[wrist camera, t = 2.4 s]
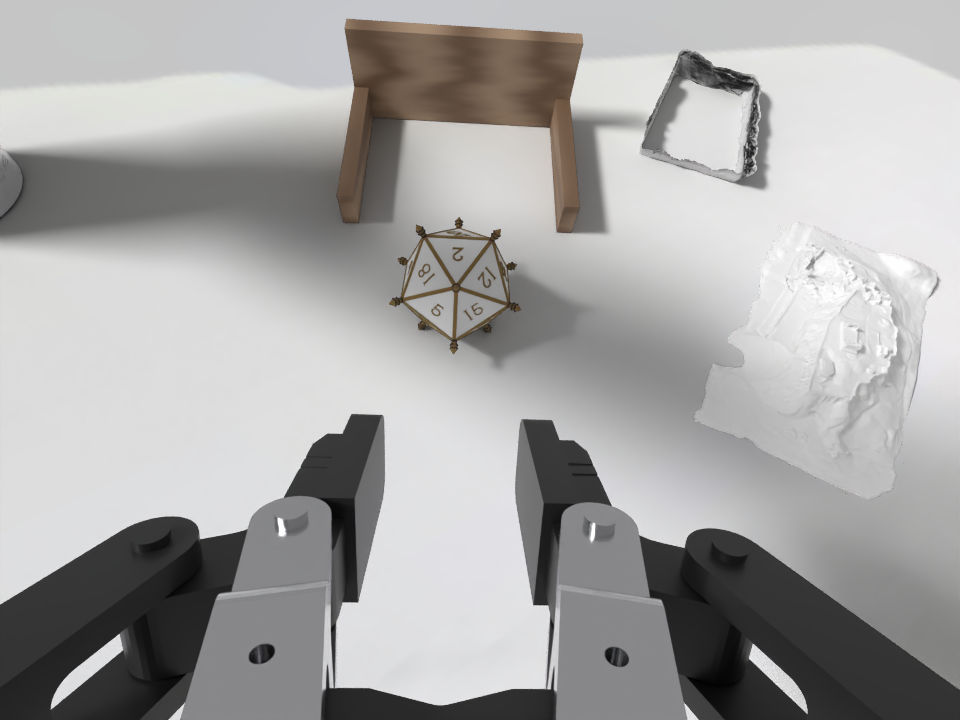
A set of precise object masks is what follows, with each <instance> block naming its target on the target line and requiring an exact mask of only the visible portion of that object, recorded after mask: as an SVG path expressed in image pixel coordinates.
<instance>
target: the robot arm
mask: <svg viewBox="0 0 960 720" xmlns="http://www.w3.org/2000/svg"><path fill="white" fill-rule="evenodd" d="M22 181H23V176H22V173H21V169H20V168H19V166H18V165H17V164H16V162H15V161H14V160H13V159H12V158H11V157H10V156H9V155H8V154H7V152H6V151H5V150H4V149H3V148H2V147H1V146H0V217H1V216H2V215H4V214H5V213H6V212H7V211H8V209H9V208H10V207H11V206H12V205H13V204H14V202H15V201H16V199H17V198H18V196H19V194H20V191H21V188H22ZM384 483H385V444H384V417H383V415H365V414H352V415H351V416H350V418H349V421H348V423H347V425H346V427H345V430H344V432H343V434H326V435H325V436H324V437H322V438H321V439H319V440H318V441H316V442H315V443H314V444H313V445H312V447H311V448H310V450H309V452H308V454H307V456H306V459H304V461H303V463H302V465H301V469H299V470H298V472H297V474H296V476H295V478H294V480H293V482H292V483H291V485H290V487H289V489H288V491H287V493H286V494H285V496H284V498H282V499H278V500H275V501H273V502H270V503H268V504H266V505H265V506H263V507H262V508H260V509H259V510H258V511H257V512H256V513H255V514H254V515H253V516H252V518H251V520H250V523H249V526H248V529H247V530H244V531H241V532H237V533H233V534H227V535H222V536H216V537H211V538H205V539H200V536H199V530H198V526H197V525H196V524H195V523H194V522H193V521H191V520H189V519H186V518H182V517H159V518H153V519H149V520H145V521H142V522H139V523H136V524H134V525H132V526H129V527H127V528H126V529H124V530H122V531H120V532H119V533H117V534H115V535H114V536H112V537H110V538H109V539H107V540H105V541H104V542H102V543H101V544H99V545H97V546H96V547H94V548H92V549H91V550H89V551H87V552H86V553H84V554H83V555H81V556H79V557H78V558H76V559H74V560H73V561H71V562H69V563H68V564H66V565H65V566H63V567H61V568H60V569H58V570H56V571H55V572H53V573H51V574H50V575H48V576H47V577H45V578H43V579H42V580H40V581H38V582H37V583H35V584H33V585H32V586H30V587H29V588H27V589H25V590H24V591H22V592H20V593H19V594H17V595H15V596H14V597H12V598H11V599H9V600H7V601H6V602H4V603H2V604H1V605H0V720H168V719H169V718H170V717H171V716H172V715H173V714H174V713H175V712H176V711H177V710H178V709H179V708H180V707H181V706H182V705H183V704H184V703H185V705H184V709H183V712H182V715H181V719H180V720H687V716H686V711H685V706H684V703H685V704H686V705H687V706H688V707H689V709H690V710H691V711H692V712H693V713H694V714H695V716H696V717H697V718H698V719H699V720H960V690H959V689H957V688H956V687H955V686H953V685H952V684H950V683H949V682H948V681H946V680H945V679H943V678H942V677H941V676H939V675H938V674H936V673H935V672H934V671H932V670H931V669H930V668H928V667H927V666H925V665H924V664H923V663H921V662H920V661H918V660H917V659H916V658H914V657H913V656H911V655H910V654H909V653H907V652H906V651H904V650H903V649H902V648H900V647H899V646H898V645H896V644H895V643H893V642H892V641H891V640H889V639H888V638H886V637H885V636H884V635H882V634H881V633H879V632H878V631H877V630H875V629H874V628H873V627H871V626H870V625H868V624H867V623H866V622H864V621H863V620H861V619H860V618H859V617H857V616H856V615H854V614H853V613H852V612H850V611H849V610H847V609H846V608H845V607H843V606H842V605H841V604H839V603H838V602H836V601H835V600H834V599H832V598H831V597H829V596H828V595H827V594H825V593H824V592H822V591H821V590H820V589H818V588H817V587H816V586H814V585H813V584H811V583H810V582H809V581H807V580H806V579H804V578H803V577H802V576H800V575H799V574H797V573H796V572H795V571H793V570H792V569H791V568H789V567H788V566H786V565H785V564H784V563H782V562H781V561H779V560H778V559H777V558H775V557H774V556H772V555H771V554H770V553H768V552H767V551H765V550H764V549H763V548H761V547H760V546H759V545H757V544H756V543H754V542H753V541H751V540H749V539H747V538H745V537H743V536H741V535H739V534H736V533H733V532H730V531H726V530H721V529H711V528H708V529H700V530H697V531H694V532H692V533H691V534H690V535H689V536H688V537H687V540H686V544H685V548H681V547H677V546H673V545H668V544H664V543H660V542H656V541H652V540H649V539H647V538H644V537H642V536H640V535H639V532H638V528H637V525H636V523H635V522H634V521H633V519H632V518H631V517H630V516H628V515H627V514H626V513H624V512H623V511H621V510H619V509H617V508H615V507H612V505H611V503H610V501H609V499H608V497H607V494H606V492H605V490H604V488H603V485H602V483H601V481H600V479H599V477H597V472H596V470H595V468H594V466H593V463H592V461H591V459H590V457H589V455H588V452H587V451H586V450H585V449H583V448H582V447H581V446H580V445H578V444H577V443H576V442H575V441H568V440H559V437H558V435H557V432H556V429H555V427H554V424H553V421H552V420H528V419H522V420H521V423H520V430H519V442H518V455H517V467H516V482H515V493H516V505H517V511H518V517H519V523H520V529H521V535H522V541H523V547H524V552H525V558H526V564H527V570H528V576H529V582H530V588H531V594H532V600H533V605H548V606H549V610H550V622H549V631H548V643H547V659H546V675H545V689H511V690H506V691H502V692H498V693H494V694H490V695H486V696H482V697H478V698H474V699H470V700H465V701H461V702H457V703H453V704H449V705H443V706H438V705H432V704H428V703H424V702H420V701H416V700H413V699H409V698H405V697H401V696H397V695H393V694H389V693H385V692H381V691H377V690H374V689H370V688H337V619H338V616H339V613H340V610H341V606H342V602H358V601H359V596H360V592H361V588H362V584H363V580H364V575H365V571H366V567H367V563H368V559H369V554H370V550H371V546H372V542H373V538H374V534H375V529H376V525H377V521H378V517H379V513H380V508H381V504H382V500H383V494H384ZM118 634H120V637H121V642H122V646H123V651H122V652H121V653H119V654H118V655H117V656H116V657H115V658H113V659H112V660H111V661H110V662H109V663H107V664H106V665H105V666H104V667H102V668H101V669H100V670H99V671H98V672H96V673H95V674H94V675H93V676H92V677H90V678H89V679H88V680H87V681H85V682H84V683H83V684H82V685H81V686H79V687H78V688H77V689H76V690H75V691H73V692H72V693H71V694H70V695H68V696H67V697H66V698H65V699H64V700H62V701H61V702H60V703H59V704H58V705H56V706H55V707H54V708H53V709H51V702H52V699H53V696H54V694H55V692H56V690H57V688H58V687H59V685H60V684H61V682H62V681H63V680H64V679H65V678H66V677H67V676H68V674H69V673H71V672H72V671H73V670H74V669H75V668H77V667H78V666H79V665H80V664H82V663H83V662H84V661H85V660H87V659H88V658H89V657H90V656H92V655H93V654H94V653H96V652H97V651H98V650H99V649H101V648H102V647H103V646H104V645H106V644H107V643H108V642H109V641H111V640H112V639H113V638H115V637H116V636H117V635H118ZM752 644H754V645H756V646H757V647H758V648H759V649H760V650H761V651H762V652H763V653H764V654H765V655H767V656H768V657H769V658H770V659H771V660H772V661H773V662H774V663H775V664H776V665H777V666H779V667H780V668H781V669H782V670H783V671H784V672H785V673H786V674H787V675H788V676H790V677H791V678H792V679H793V681H794V682H795V683H796V684H797V686H798V687H799V688H800V690H801V692H802V694H803V696H804V698H805V700H806V704H807V708H808V714H806V713H805V712H804V711H803V710H802V709H801V708H800V707H799V706H798V705H797V704H796V703H795V702H794V701H793V700H792V699H791V698H790V697H789V696H787V695H786V694H785V693H784V692H783V691H782V690H781V689H780V688H779V687H778V686H777V685H776V684H775V683H774V682H773V681H772V680H771V679H770V678H768V677H767V676H766V675H765V674H764V673H763V672H762V671H761V670H760V669H759V668H758V667H757V666H756V665H755V664H754V663H753V662H752V661H751V660H749V655H750V652H751V648H752Z"/></svg>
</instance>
